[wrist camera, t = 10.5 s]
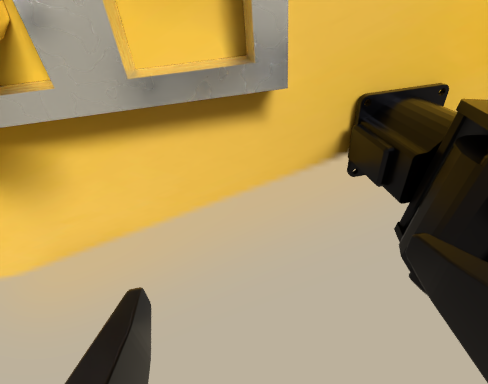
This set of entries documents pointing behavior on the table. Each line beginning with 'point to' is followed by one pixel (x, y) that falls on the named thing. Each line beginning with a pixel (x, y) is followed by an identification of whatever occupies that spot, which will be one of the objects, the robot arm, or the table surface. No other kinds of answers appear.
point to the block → (122, 66)
